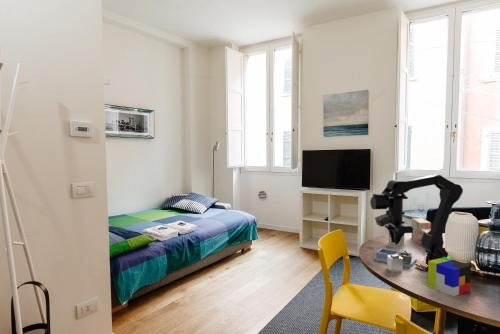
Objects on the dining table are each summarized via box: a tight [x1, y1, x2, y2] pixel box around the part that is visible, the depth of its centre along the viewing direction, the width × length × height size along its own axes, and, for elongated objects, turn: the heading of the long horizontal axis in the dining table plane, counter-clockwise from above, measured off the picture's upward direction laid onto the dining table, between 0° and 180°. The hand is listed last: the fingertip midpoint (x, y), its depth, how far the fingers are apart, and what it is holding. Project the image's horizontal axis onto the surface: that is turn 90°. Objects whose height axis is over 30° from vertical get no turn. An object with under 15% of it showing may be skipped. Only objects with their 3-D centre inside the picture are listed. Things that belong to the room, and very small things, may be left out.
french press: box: [384, 219, 407, 249], centre depth 172 cm, size 10×12×25 cm
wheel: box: [398, 251, 413, 262], centre depth 145 cm, size 6×6×2 cm
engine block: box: [386, 254, 404, 273], centre depth 139 cm, size 5×4×7 cm
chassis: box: [374, 247, 418, 269], centre depth 150 cm, size 16×11×4 cm
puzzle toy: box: [427, 256, 472, 297], centre depth 120 cm, size 10×10×10 cm
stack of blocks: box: [411, 217, 432, 247], centre depth 174 cm, size 21×6×12 cm, turn 171°
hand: (394, 243), depth 138 cm, fingers open, 2 cm apart
